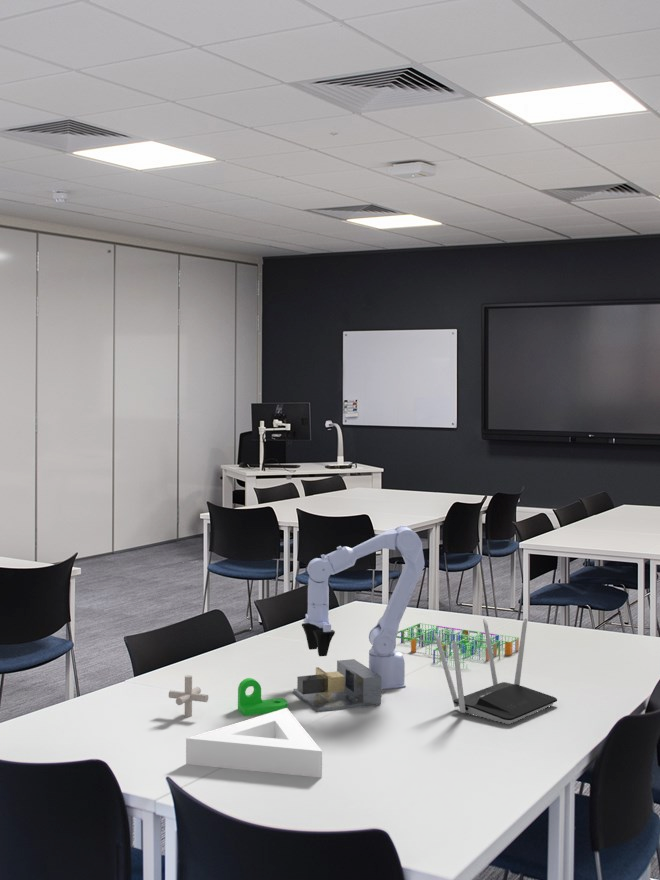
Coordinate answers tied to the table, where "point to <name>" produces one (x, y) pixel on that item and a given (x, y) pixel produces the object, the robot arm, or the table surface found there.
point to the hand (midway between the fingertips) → (317, 652)
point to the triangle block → (258, 746)
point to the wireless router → (496, 689)
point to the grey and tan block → (321, 683)
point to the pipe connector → (188, 696)
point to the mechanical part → (256, 700)
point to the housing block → (349, 689)
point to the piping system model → (464, 639)
